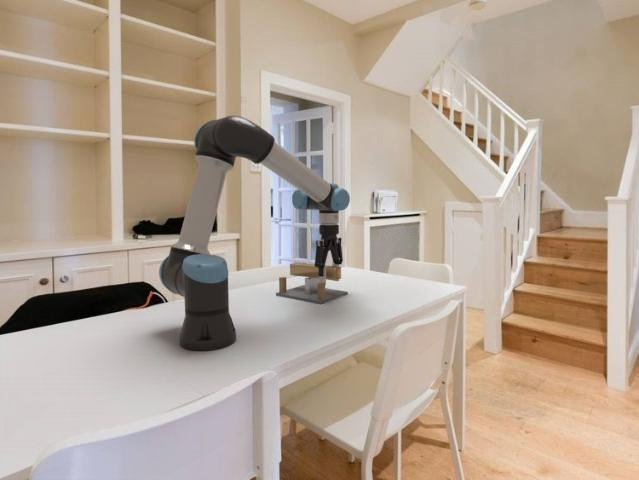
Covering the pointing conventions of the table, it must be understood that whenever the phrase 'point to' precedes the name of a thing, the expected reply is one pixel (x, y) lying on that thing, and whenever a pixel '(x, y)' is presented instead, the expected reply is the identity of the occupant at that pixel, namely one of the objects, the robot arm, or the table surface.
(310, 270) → the oak batten
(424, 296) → the table surface
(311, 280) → the ridge
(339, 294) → the board
